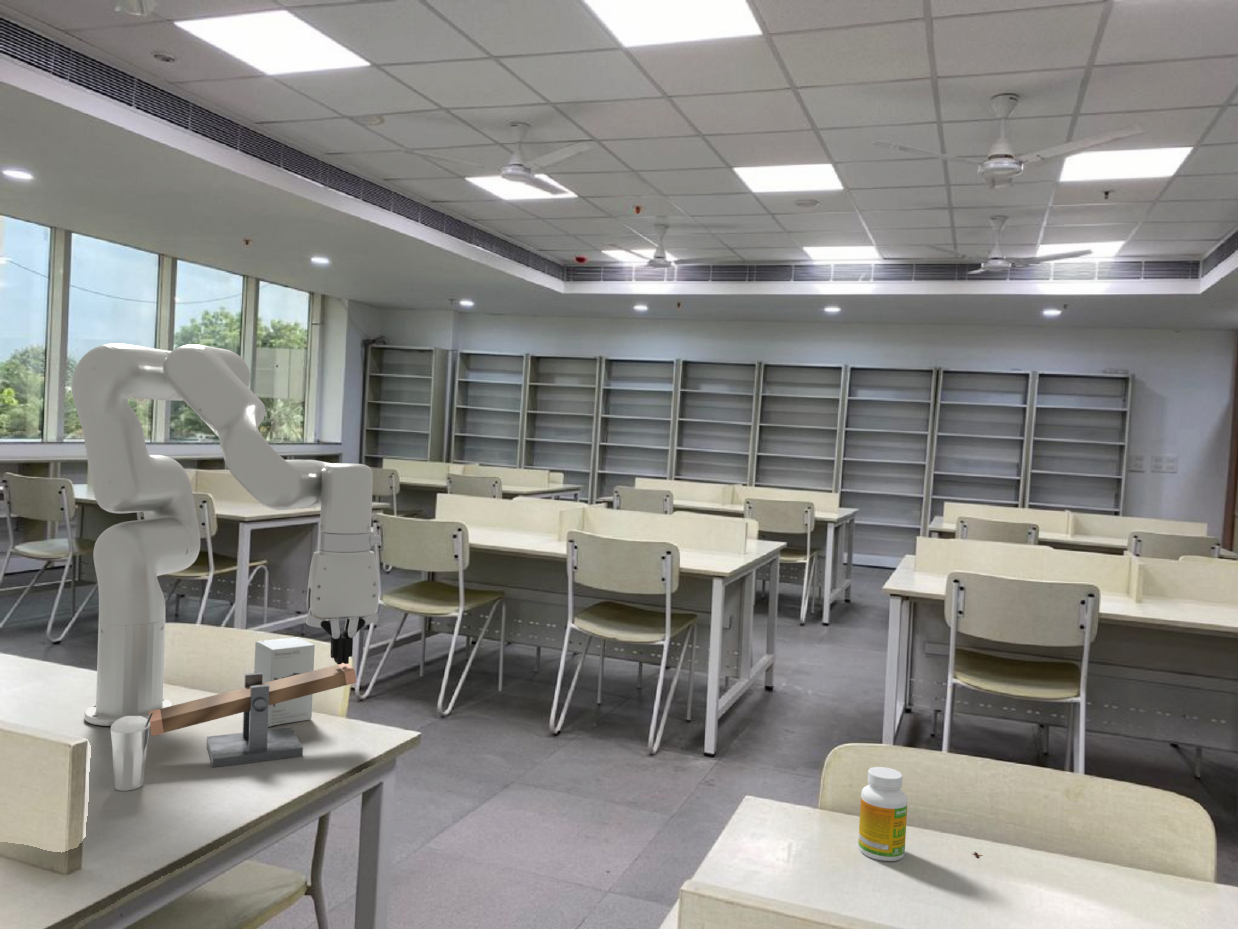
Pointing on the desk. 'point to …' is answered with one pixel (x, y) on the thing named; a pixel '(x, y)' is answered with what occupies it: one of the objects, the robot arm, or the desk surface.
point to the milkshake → (129, 751)
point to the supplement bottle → (883, 815)
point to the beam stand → (254, 733)
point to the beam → (240, 698)
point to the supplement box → (285, 674)
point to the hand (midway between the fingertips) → (341, 662)
